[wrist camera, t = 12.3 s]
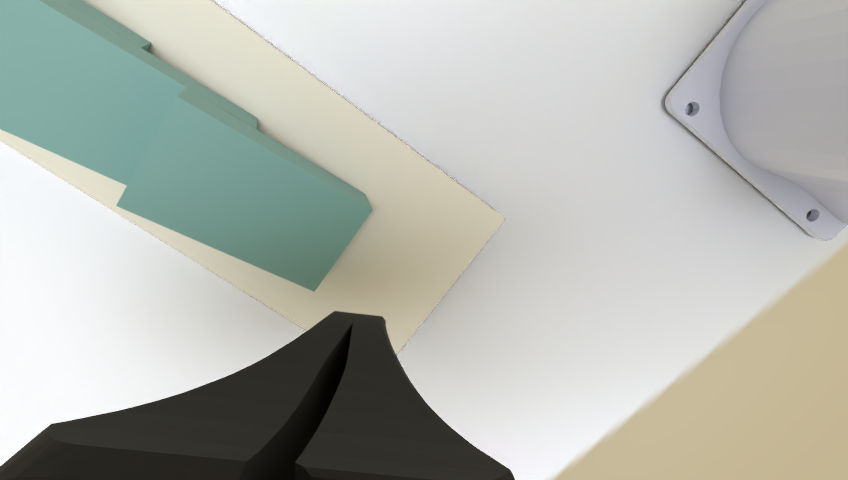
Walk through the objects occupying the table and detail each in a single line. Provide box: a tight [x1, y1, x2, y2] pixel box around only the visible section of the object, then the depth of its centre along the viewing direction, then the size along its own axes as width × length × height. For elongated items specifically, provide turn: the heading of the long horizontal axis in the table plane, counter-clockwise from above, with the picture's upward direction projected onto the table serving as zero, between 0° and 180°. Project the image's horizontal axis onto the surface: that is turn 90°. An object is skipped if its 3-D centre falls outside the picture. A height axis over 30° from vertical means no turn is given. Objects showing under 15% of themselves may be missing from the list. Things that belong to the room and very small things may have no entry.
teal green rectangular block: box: [116, 88, 373, 292], centre depth 15 cm, size 2×4×7 cm
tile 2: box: [0, 0, 257, 186], centre depth 15 cm, size 2×4×7 cm
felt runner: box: [0, 0, 505, 355], centre depth 17 cm, size 26×9×1 cm, turn 54°
